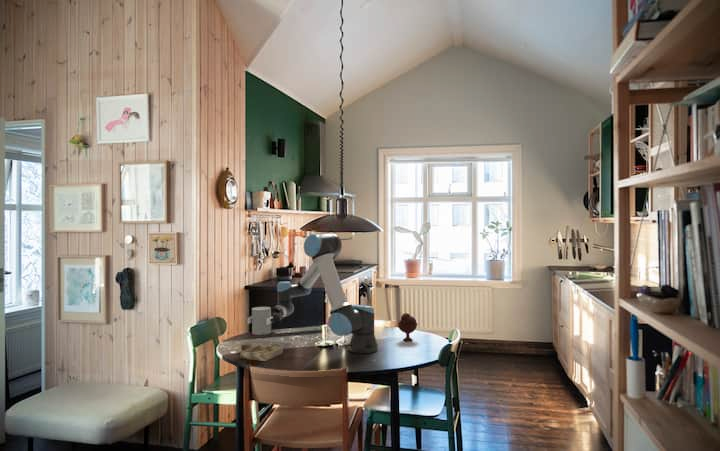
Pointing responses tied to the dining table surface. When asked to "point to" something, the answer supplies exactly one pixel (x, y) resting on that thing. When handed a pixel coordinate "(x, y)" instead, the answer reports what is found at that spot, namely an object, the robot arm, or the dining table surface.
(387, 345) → the dining table surface
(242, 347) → the walnut block
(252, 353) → the oak tray
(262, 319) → the speckled tin can
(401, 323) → the ice cream bowl
